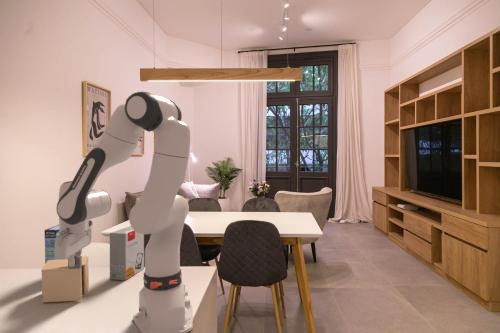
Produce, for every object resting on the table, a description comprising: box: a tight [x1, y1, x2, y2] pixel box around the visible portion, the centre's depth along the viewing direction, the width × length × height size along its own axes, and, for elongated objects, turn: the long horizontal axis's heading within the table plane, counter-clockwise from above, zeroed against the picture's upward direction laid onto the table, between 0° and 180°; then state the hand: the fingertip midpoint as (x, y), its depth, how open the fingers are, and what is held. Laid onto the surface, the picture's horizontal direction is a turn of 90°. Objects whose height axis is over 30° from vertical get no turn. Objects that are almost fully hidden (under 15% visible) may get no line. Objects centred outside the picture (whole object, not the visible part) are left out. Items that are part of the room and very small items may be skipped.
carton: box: [41, 255, 90, 304], centre depth 123 cm, size 11×14×12 cm
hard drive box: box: [109, 225, 145, 281], centre depth 143 cm, size 16×8×20 cm, turn 168°
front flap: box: [41, 255, 83, 303], centre depth 115 cm, size 2×13×16 cm, turn 96°
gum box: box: [44, 224, 60, 265], centre depth 141 cm, size 19×5×23 cm, turn 2°
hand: (74, 264), depth 115 cm, fingers closed
